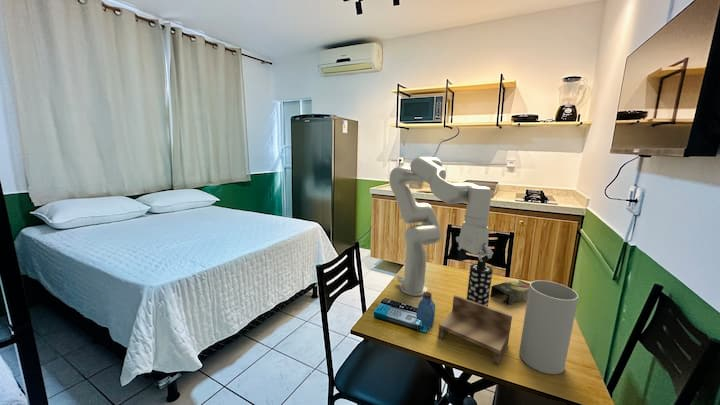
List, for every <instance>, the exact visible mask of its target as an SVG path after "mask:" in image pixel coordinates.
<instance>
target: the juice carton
mask: <svg viewBox="0 0 720 405" xmlns="http://www.w3.org/2000/svg"><path fill="white" fill-rule="evenodd" d="M529 287H530V283H529V282H526V281H524V280H521V279H516V280H509V281H505V282H501V283H498V284H494V285H493V284H492V285H491V287H490V295H489V297H493V296H496V294H497V295H499V293H500V294H505V295H506V298H505V300H503V301H504V302H503V303H504V304H505V305H507V306H508V305H510V306H511V305H514V304H518V303H521V302H524V301H527V299H528V293H529Z"/></svg>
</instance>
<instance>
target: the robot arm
mask: <svg viewBox="0 0 720 405" xmlns="http://www.w3.org/2000/svg"><path fill="white" fill-rule="evenodd" d="M446 177H447V171H446V170H445V168H443V163H442V161H441V160H440V159H439V158H437V157H434V156H418V157H415V158H414V159H412V161H411V162H410V165H409V166H408V165H407V166H406V165H405V166H404V165H402V166H397V167H394V168H393V169H392V170H391V171H390V173H389V178H388V180H389V181H388V182H389V186H390V189H391V191H392V193H393V195H394V197H395V199H396V202H397V206H398V209H399V213H400V215H401V217H402V218H401V219H402V221H403V222H404V223H405V224H415V225H411V226H409V227H408V228H406V229H405V231H404V241H405V261H404V275H403V276H401V275H398V276H397V280H396V281H397V282H399V283H401V284H400V287H399V289H400V292H402V293H404V294H405V295H408V296H412V297H423V293H424V292H428V287H427V286H426V285H425V282H426V281H425V278H426V268H427V267H426V266H427V252H426V250H425V248H424V246H427V245H433V244H436V243H438V242H440V241H441V238H442V230H441V227H440V224H439V221H438V218H437V215H436V212H435V210H434V208H433V207H432V205H431V204H430V203H428V202H417V200H416V197H415V195H414V192H413V191H412V190H411V189H410V187H408V186H407V185H417V184H423V183H427V184H428V185H429V189H430V191H431V193H432V195H433V196H434V197H436V198H438V199H439V200H440V201H442V202H443V203H446V204H448V205H449V204H450V205H454V204H466V209H465V210H466V211H465V215H464V218H465V219H464V221H463V223H462V225H461V228H460V233H459V235H458V236H456V237H455V241H456V246H457V250H458V256H457V261H458V262H462V261H466V257H467V252H468V253H470V254H472V255H475V256H477V258H478V261H477V263H476V264H477V271H478V272H481V271H485V265H486V264H487V262H488V261H489V260H490V259H491V258H492V256H493V255H494V252H493V250H492V249H491V248H490V247H489V227H488V222H489V217H490V216H489V215H490V210H491V209H490V208H491V202H492V201H491V200H492V195H493V190H492V189H491V188H490V187H488V186H484V185H478V184H475V183H471V182H453V183H452V182H448V181H446ZM420 223H421V224H420ZM486 266H487V265H486Z"/></svg>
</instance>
